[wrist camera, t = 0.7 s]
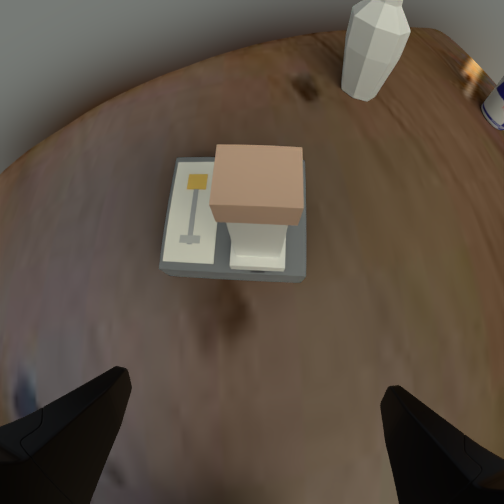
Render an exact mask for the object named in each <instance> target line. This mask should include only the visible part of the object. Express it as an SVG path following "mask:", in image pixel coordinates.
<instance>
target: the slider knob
mask: <svg viewBox="0 0 504 504" xmlns="http://www.w3.org/2000/svg"><path fill="white" fill-rule="evenodd" d="M209 206H210V208H211V211H212V214H213V216H214V219H215V221H216V222H225V223H226V224H227V228H228V231H229V234H230V238H231V253H230V268H231V269H239V270H260V271H282V272H284V269H285V249H286V232H287V228H288V225H294V226H298V223H299V221H300V218H301V215H302V212H303V209H304V196H303V157H302V147H286V146H267V145H217V147H216V154H215V162H214V169H213V177H212V185H211V193H210V201H209Z"/></svg>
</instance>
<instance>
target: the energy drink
mask: <svg viewBox="0 0 504 504" xmlns="http://www.w3.org/2000/svg"><path fill="white" fill-rule="evenodd" d="M481 109H482V113H483V115H484V117H485V118H486V120H487V121H488V122H489V123H490V124H491V125H492V126H493V127H494V128H496V129H498V130H504V76H503V78H502V79H501V80H500V82H499V83H498V85H497V86H496V87H495V88H494V90H493V91H492V92H491V94H490V95H489V96H488V97H487V99H486V100H485V101H484V103H483V104H482V106H481Z"/></svg>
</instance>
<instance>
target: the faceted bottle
mask: <svg viewBox="0 0 504 504" xmlns="http://www.w3.org/2000/svg"><path fill="white" fill-rule="evenodd" d="M402 2H403V0H363V1H361V2H360V3H358V4H356V5H354V6H353V7H352V12H351V16H350V20H349V24H348V29H347V33H346V40H345V51H344V61H343V71H342V80H341V89H342V90H343V91H344V92H346V93H347V94H348V95H350V96H351V97H352V98H355V99H359V100H363V101H369V100H370V99H372V98H374V97H375V96H376V94H377V93H378V91H379V90H380V88H381V87H382V85H383V84H384V82H385V80H386V79H387V77H388V76H389V74H390V73H391V71H392V70H393V68H394V66H395V65H396V63H397V62H398V60H399V58H400V56H401V54H402V51H403V49H404V47H405V44H406V42H407V39H408V37H409V35H410V32H411V31H410V28H409V25H408V22H407V20H406V17H405V14H404V12H403V9H402V6H401V5H402Z"/></svg>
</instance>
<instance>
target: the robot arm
mask: <svg viewBox="0 0 504 504" xmlns="http://www.w3.org/2000/svg"><path fill="white" fill-rule="evenodd" d="M131 389H132V385H131V381H130V377H129V372H128V370H127V369H126V368H124V367H119V366H115V367H113V368H112V369H110V370H108V371H106V372H105V373H103V374H101V375H99V376H98V377H96V378H94V379H92V380H91V381H89V382H87V383H85V384H84V385H82V386H80V387H78V388H77V389H75V390H73V391H71V392H69V393H68V394H66V395H64V396H62V397H61V398H59V399H57V400H55V401H53V402H51V403H50V404H48V405H46V406H44V407H43V408H40V409H39V410H37V411H35V412H33V413H31V414H29V415H27V416H25V417H23V418H20V419H18V420H16V421H13V422H11V423H8V424H6V425H3V426H1V427H0V504H90V501H91V499H92V496H93V493H94V491H95V488H96V486H97V483H98V480H99V478H100V475H101V473H102V470H103V468H104V465H105V463H106V460H107V458H108V455H109V453H110V451H111V448H112V446H113V443H114V441H115V439H116V436H117V434H118V431H119V429H120V426H121V424H122V420H123V417H124V414H125V410H126V407H127V403H128V400H129V397H130V393H131ZM380 408H381V415H382V422H383V429H384V437H385V443H386V447H387V451H388V456H389V460H390V464H391V468H392V473H393V477H394V482H395V486H396V491H397V496H398V501H399V504H504V459H502V458H501V457H499V456H497V455H495V454H494V453H492V452H490V451H488V450H487V449H485V448H484V447H482V446H480V445H479V444H477V443H476V442H475V441H473V440H472V439H470V438H469V437H468V436H466V435H464V433H462V432H461V431H459V430H458V429H457V428H455V427H454V426H453V425H451V424H450V423H449V422H447V421H446V420H445V419H443V418H442V417H441V416H439V415H438V414H437V413H435V412H434V411H433V410H431V409H430V408H429V407H427V406H426V405H425V404H423V403H422V402H421V401H420V400H418V399H417V398H416V397H414V396H413V395H412V394H410V393H409V392H408V391H406V390H405V389H404V388H402V387H401V386H399V385H396V386H389V387H388V388H387V390H386V392H385V395H384V397H383V399H382V401H381V405H380Z"/></svg>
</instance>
